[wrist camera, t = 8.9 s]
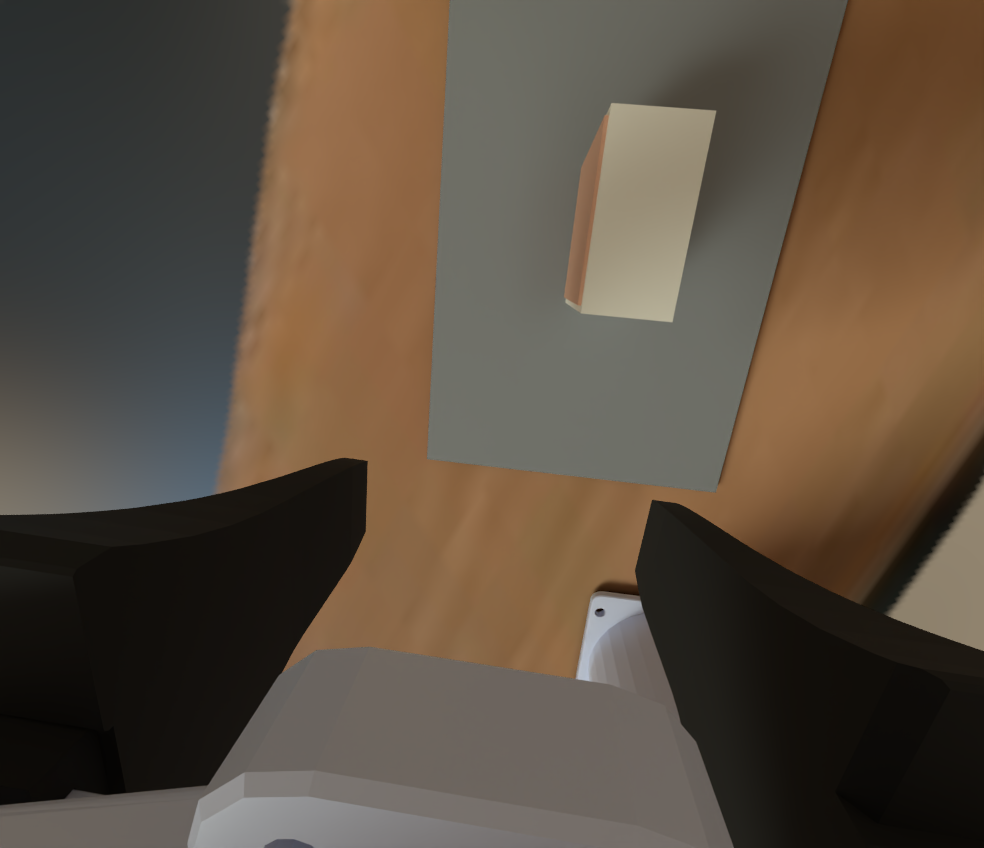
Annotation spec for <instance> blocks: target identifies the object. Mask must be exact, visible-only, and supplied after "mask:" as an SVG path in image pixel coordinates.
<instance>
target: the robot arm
mask: <svg viewBox="0 0 984 848" xmlns="http://www.w3.org/2000/svg"><path fill="white" fill-rule="evenodd" d="M367 463H368V461H364V460H357V459H349V458H340V459H335V460H331V461H328V462H324V463H321V464H318V465H315V466H312V467H309V468H306V469H303V470H300V471H297V472H294V473H291V474H288V475H285V476H282V477H278V478H275V479H272V480H268V481H265V482H261V483H258V484H255V485H251V486H248V487H244V488H241V489H237V490H233V491H229V492H225V493H221V494H216V495H211V496H207V497H202V498H197V499H192V500H186V501H180V502H173V503H166V504H159V505H152V506H146V507H139V508H130V509H119V510H109V511H97V512H82V513H67V514H40V515H39V514H38V515H0V848H984V651H981V650H978V649H975V648H973V647H970V646H967V645H964V644H961V643H958V642H955V641H952V640H950V639H947V638H944V637H941V636H938V635H935V634H933V633H930V632H927V631H924V630H922V629H919V628H916V627H914V626H911V625H909V624H906V623H903V622H901V621H898V620H896V619H893V618H891V617H888V616H886V615H884V614H881V613H879V612H876V611H874V610H872V609H869V608H867V607H864V606H862V605H860V604H857V603H855V602H853V601H851V600H848V599H846V598H844V597H842V596H839V595H837V594H835V593H833V592H831V591H829V590H827V589H825V588H823V587H821V586H819V585H817V584H815V583H813V582H811V581H809V580H807V579H805V578H803V577H801V576H799V575H797V574H795V573H793V572H791V571H790V570H788V569H786V568H784V567H782V566H781V565H779V564H777V563H775V562H774V561H772V560H770V559H769V558H767V557H765V556H763V555H762V554H760V553H758V552H757V551H755V550H753V549H752V548H750V547H748V546H747V545H745V544H744V543H742V542H740V541H739V540H737V539H736V538H734V537H733V536H731V535H729V534H728V533H726V532H725V531H723V530H722V529H720V528H719V527H717V526H715V525H714V524H712V523H711V522H709V521H708V520H706V519H705V518H703V517H701V516H700V515H698V514H697V513H695V512H693V511H692V510H690V509H688V508H686V507H684V506H682V505H680V504H677V503H671V502H663V501H656V500H652V503H651V507H650V511H649V515H648V519H647V523H646V528H645V532H644V536H643V540H642V544H641V548H640V552H639V556H638V561H637V565H636V569H635V573H636V579H637V584H638V590H639V595H640V596H636V595H628V594H620V593H612V592H605V591H598V592H595V593H594V594H593V595H592V596H591V599H590V604H589V609H588V615H587V620H586V625H585V631H584V636H583V641H582V646H581V652H580V657H579V662H578V668H577V673H576V678H575V679H572V678H566V677H560V676H553V675H547V674H541V673H534V672H528V671H521V670H515V669H509V668H502V667H496V666H490V665H483V664H477V663H470V662H464V661H458V660H451V659H445V658H438V657H432V656H426V655H419V654H413V653H407V652H400V651H394V650H387V649H381V648H375V647H360V648H343V649H327V650H316V651H314V652H313V653H311V654H310V655H308V656H307V657H305V658H304V659H302V660H301V661H299V662H298V663H296V664H295V665H293V666H292V667H290V668H289V669H287V670H286V671H284V672H283V673H282V671H283V670H284V668H285V666H286V664H287V662H288V660H289V658H290V656H291V654H292V653H293V651H294V649H295V647H296V646H297V644H298V642H299V641H300V639H301V638H302V636H303V634H304V633H305V631H306V630H307V628H308V627H309V625H310V624H311V622H312V621H313V619H314V618H315V616H316V615H317V613H318V612H319V610H320V609H321V607H322V606H323V604H324V603H325V601H326V600H327V598H328V597H329V595H330V594H331V593H332V591H333V590H334V588H335V587H336V585H337V584H338V582H339V580H340V579H341V577H342V576H343V574H344V573H345V571H346V570H347V568H348V567H349V565H350V563H351V562H352V560H353V558H354V555H355V553H356V551H357V549H358V547H359V545H360V543H361V541H362V538H363V536H364V534H365V532H366V498H367ZM598 608H602V609H604V610H602V611H600V612H598V611H595V610H596V609H598Z"/></svg>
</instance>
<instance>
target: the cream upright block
mask: <svg viewBox="0 0 984 848" xmlns="http://www.w3.org/2000/svg"><path fill="white" fill-rule="evenodd" d="M715 115H716V111H714V110H700V109H687V108H673V107H660V106H646V105H633V104H619V103H611V105H610V108H609V110H608V112H607V114H606V115H605V116H604V118H603V120H602V122H601V125H600V127H599V129H598V131H597V133H596V136H595V138H594V140H593V142H592V145H591V147H590V149H589V151H588V153H587V156H586V158H585V160H584V162H583V165H582V167H581V173H580V180H579V188H578V195H577V203H576V210H575V218H574V225H573V233H572V240H571V248H570V255H569V263H568V270H567V278H566V285H565V293H564V298H566V302H565V303H567V304H568V305H569V306H571V307H572V308H574V309H575V310H577V311H578V312H580V313H581V314H592V315H602V316H612V317H622V318H633V319H643V320H653V321H664V322H673V317H674V312H675V307H676V302H677V298H678V293H679V288H680V283H681V278H682V274H683V269H684V264H685V259H686V254H687V250H688V245H689V240H690V235H691V230H692V226H693V221H694V216H695V211H696V206H697V202H698V197H699V192H700V187H701V182H702V178H703V173H704V168H705V163H706V158H707V154H708V149H709V144H710V139H711V134H712V129H713V125H714V120H715Z"/></svg>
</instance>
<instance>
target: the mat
mask: <svg viewBox="0 0 984 848" xmlns="http://www.w3.org/2000/svg"><path fill="white" fill-rule="evenodd" d="M847 2H848V0H450V8H449V28H448V48H447V69H446V89H445V109H444V129H443V149H442V169H441V190H440V210H439V230H438V250H437V270H436V291H435V311H434V331H433V351H432V371H431V391H430V412H429V432H428V452H427V459H431V460H440V461H449V462H457V463H466V464H474V465H483V466H492V467H500V468H509V469H518V470H526V471H535V472H543V473H552V474H561V475H569V476H578V477H586V478H595V479H604V480H612V481H621V482H630V483H638V484H647V485H655V486H664V487H673V488H681V489H690V490H699V491H707V492H716V489H717V486H718V482H719V478H720V475H721V471H722V467H723V463H724V460H725V456H726V452H727V448H728V445H729V441H730V437H731V434H732V430H733V426H734V422H735V419H736V415H737V411H738V408H739V404H740V400H741V396H742V393H743V389H744V385H745V382H746V378H747V374H748V370H749V367H750V363H751V359H752V355H753V352H754V348H755V344H756V341H757V337H758V333H759V329H760V326H761V322H762V318H763V315H764V311H765V307H766V303H767V300H768V296H769V292H770V288H771V285H772V281H773V277H774V274H775V270H776V266H777V262H778V259H779V255H780V251H781V248H782V244H783V240H784V236H785V233H786V229H787V225H788V222H789V218H790V214H791V210H792V207H793V203H794V199H795V195H796V192H797V188H798V184H799V181H800V177H801V173H802V169H803V166H804V162H805V158H806V155H807V151H808V147H809V143H810V140H811V136H812V132H813V128H814V125H815V121H816V117H817V114H818V110H819V106H820V102H821V99H822V95H823V91H824V88H825V84H826V80H827V76H828V73H829V69H830V65H831V62H832V58H833V54H834V50H835V47H836V43H837V39H838V35H839V32H840V28H841V24H842V21H843V17H844V13H845V9H846V6H847ZM611 103H619V104H633V105H646V106H660V107H673V108H687V109H700V110H714V111H716V115H715V120H714V125H713V129H712V134H711V139H710V144H709V149H708V154H707V158H706V163H705V168H704V173H703V178H702V182H701V187H700V192H699V197H698V202H697V206H696V211H695V216H694V221H693V226H692V230H691V235H690V240H689V245H688V250H687V254H686V259H685V264H684V269H683V274H682V278H681V283H680V288H679V293H678V298H677V302H676V307H675V312H674V317H673V322H664V321H653V320H643V319H633V318H622V317H612V316H602V315H592V314H581V313H580V312H578V311H577V310H575V309H574V308H572V307H571V306H569V305H568V304H567V303H565V302H566V298H564V293H565V285H566V278H567V270H568V263H569V255H570V248H571V240H572V233H573V225H574V218H575V210H576V203H577V195H578V188H579V180H580V173H581V167H582V165H583V162H584V160H585V158H586V156H587V153H588V151H589V149H590V147H591V145H592V142H593V140H594V138H595V136H596V133H597V131H598V129H599V127H600V125H601V122H602V120H603V118H604V116H605V115H606V114H607V112H608V110H609V108H610V105H611Z"/></svg>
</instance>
